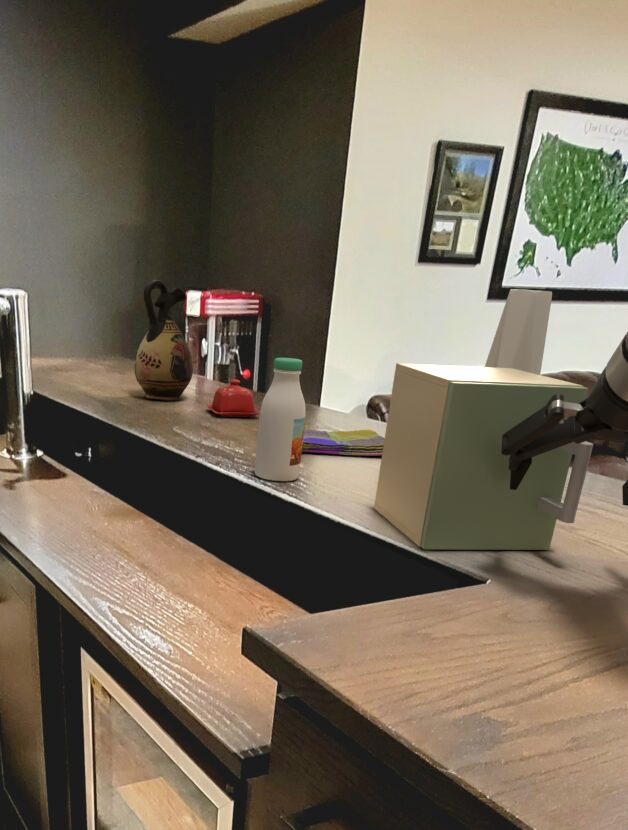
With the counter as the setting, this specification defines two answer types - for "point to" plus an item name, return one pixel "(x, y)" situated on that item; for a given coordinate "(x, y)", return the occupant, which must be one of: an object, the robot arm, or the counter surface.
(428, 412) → the cupboard
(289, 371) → the milk bottle
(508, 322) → the tall faceted taper
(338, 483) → the counter surface
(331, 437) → the dish towel
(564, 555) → the counter surface
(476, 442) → the cupboard door
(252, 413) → the butter dish
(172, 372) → the ceramic jug
